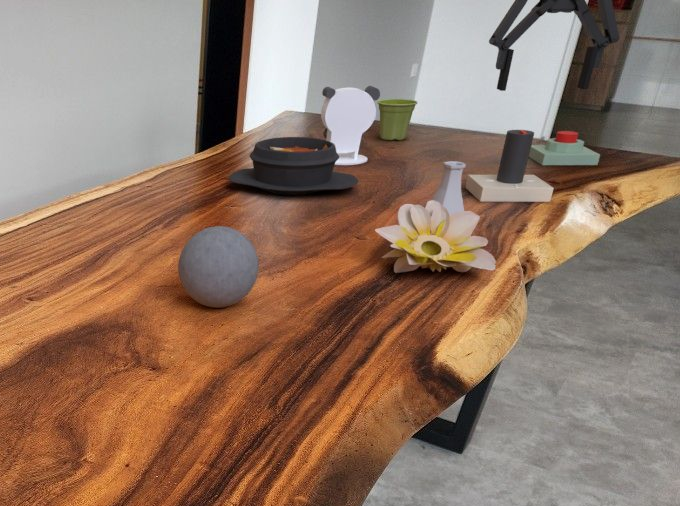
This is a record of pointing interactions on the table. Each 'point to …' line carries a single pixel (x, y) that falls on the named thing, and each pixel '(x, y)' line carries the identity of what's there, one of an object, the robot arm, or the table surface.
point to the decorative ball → (218, 266)
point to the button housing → (563, 153)
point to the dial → (515, 156)
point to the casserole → (294, 167)
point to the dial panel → (509, 189)
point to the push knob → (566, 137)
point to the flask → (451, 187)
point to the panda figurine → (348, 120)
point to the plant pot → (395, 117)
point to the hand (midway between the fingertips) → (541, 89)
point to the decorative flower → (436, 239)
